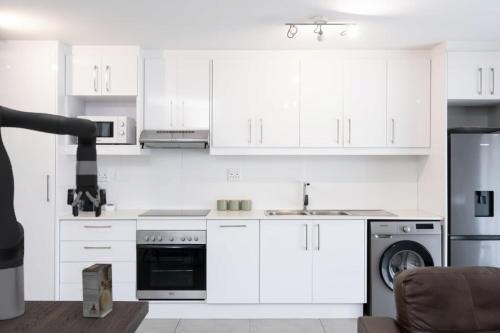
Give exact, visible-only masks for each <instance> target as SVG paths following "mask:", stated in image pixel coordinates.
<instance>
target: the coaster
mask: <svg viewBox="0 0 500 333" xmlns="http://www.w3.org/2000/svg"><path fill="white" fill-rule="evenodd" d="M112 311H113V307H112V308H111V309H109V310H108V311H107V312H105V313H104V314H103V315H101V316H100V317H99V318H104V317H105V316H107V315H108V314H109V313H110V312H112ZM83 317H84V318H94V317H93V316H83Z"/></svg>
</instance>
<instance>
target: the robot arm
mask: <svg viewBox="0 0 500 333" xmlns="http://www.w3.org/2000/svg"><path fill="white" fill-rule="evenodd" d="M2 128H13V129H22V130H23V129H25V130H29V131H35V132H39V133H45V134H52V135H59V136H73V137H77V147H76V151H75V152H76V153H75V154H76V155H75V156H76V157H75V158H76V160H75V161H76V162H75V186H76V187H75V188H68V189H67V197H66V198H67V200H66V204H67V205H68V206H71V207H72V208H71V211H72V212H71V214H72V215H73V217H74V218H76V217H78V216H79V210H80V209H79V204H80V203H81V202H82V201H88V202H89V201H91V203H93V205H94V206H95V207H94V208H95V209H94V212H95V213H94V215H95V216H94V217H95V218H99V217H100V216H101V214H102V206H105V205H107V190H106V189H105V188H100V189H99V188H98V172H99V171H98V162H97V160H98V155H97V154H98V151H97V137H98V128H97V125H96V124H95V122H94V121H93V120H90V119H88V118H82V117H81V118H80V117H69V116H64V115H58V114H54V113H46V112H35V111H34V112H32V111H25V110H24V111H22V110H18V109H17V110H16V109H13V108H9V107H7V106H3V105H1V104H0V321H2V320H11V319H14V318H18V317H20V316H22V315H24V313H25V312H26V310H25V306H26V304H25V267H24V262H25V261H24V260H25V259H24V258H25V229H24V226H23V224H22V223H21V222H19V221H18V220H17V215H16V212H15V203H14V202H15V179H14V178H15V177H14V173H13V172H14V171H13V166H12V165H13V164H12V162H11V158H10V156H9V153H8V151H7V149H6V146H5V145H4V141H3V138H2ZM75 194H76V197H75ZM97 195H99V197H98V196H97Z"/></svg>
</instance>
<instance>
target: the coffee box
mask: <svg viewBox="0 0 500 333" xmlns="http://www.w3.org/2000/svg"><path fill="white" fill-rule="evenodd" d="M112 269H113V264H112V263H95V264H92V265H90V266H88V267H86V268H85V269H84V268H83V269H82V270H81V278H82V282H81V283H82V313H83V315H82V316H83V317H84V316H93V317H92V318H101V317H100V316H101V315H103V314H104V313H105V312H107V311H108V310H109V309H111V308H113V307H114V305H113V304H114V302H113V301H114V300H113V299H114V298H113V297H114V296H113V270H112Z"/></svg>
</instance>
